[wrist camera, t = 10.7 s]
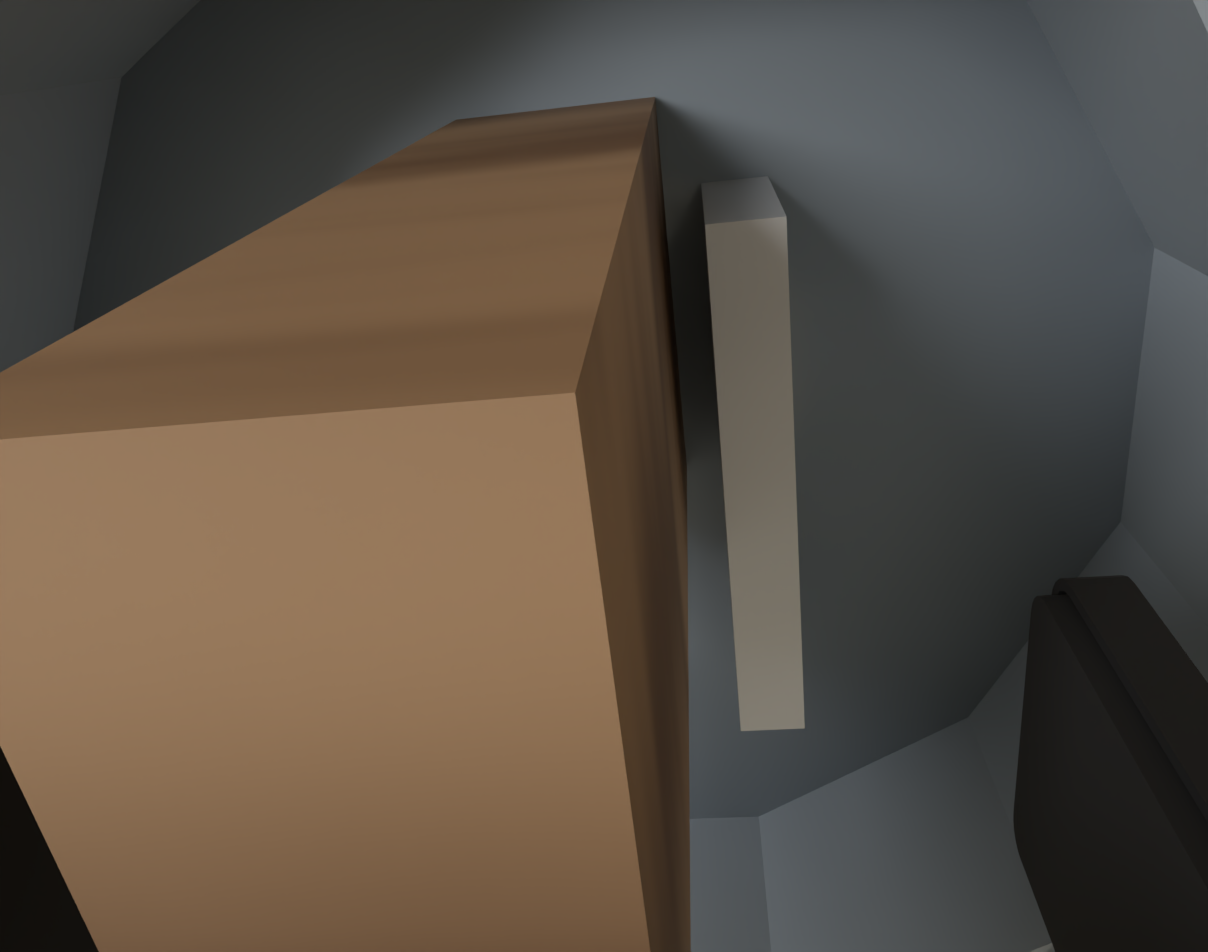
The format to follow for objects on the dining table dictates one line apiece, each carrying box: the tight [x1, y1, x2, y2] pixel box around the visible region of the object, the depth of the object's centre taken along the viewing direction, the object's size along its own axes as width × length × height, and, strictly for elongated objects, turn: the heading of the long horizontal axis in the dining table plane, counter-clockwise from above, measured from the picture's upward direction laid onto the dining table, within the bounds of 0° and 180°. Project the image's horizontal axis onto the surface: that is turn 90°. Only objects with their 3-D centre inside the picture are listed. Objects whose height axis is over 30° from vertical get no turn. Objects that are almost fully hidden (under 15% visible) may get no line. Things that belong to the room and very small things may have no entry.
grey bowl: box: [0, 0, 1208, 952], centre depth 15 cm, size 20×20×6 cm
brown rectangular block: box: [0, 97, 691, 952], centre depth 11 cm, size 6×3×12 cm, turn 6°
